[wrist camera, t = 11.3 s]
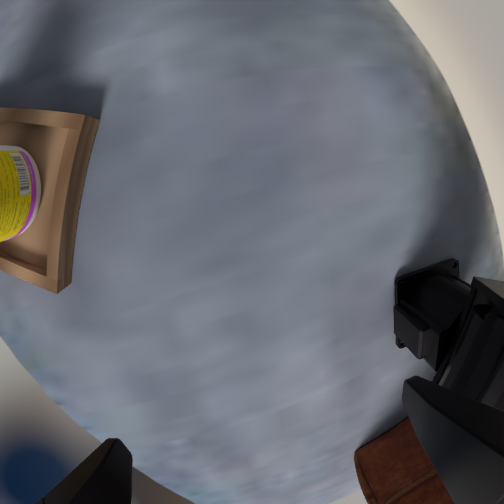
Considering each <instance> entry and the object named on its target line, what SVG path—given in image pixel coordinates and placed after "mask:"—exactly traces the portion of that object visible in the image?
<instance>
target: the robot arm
mask: <svg viewBox="0 0 504 504" xmlns="http://www.w3.org/2000/svg"><path fill="white" fill-rule="evenodd" d="M453 264H454V265H453ZM402 281H403V283H402V285H400V283H401V282H402ZM394 333H395V335H396V345H397V346H398V347H399V348H404V347H407V348H408V349H409V350H410V351H411V352H412V353H413V354H414V355H415V357H416V358H418V359H422V358H424V359H425V360H426V362H427V363H428V364H429V365H430V366H431V367H432V368H433V369H434V370H435V371H436V374H435V376H434V378H433V380H432V382H431V381H428V380H426V379H424V378H421V377H419V376H413V377H411V378H408V379H406V380H405V381H404V384H403V394H402V402H403V405H404V407H405V410H406V412H407V414H408V416H409V419H410V421H411V423H412V426H413V428H414V430H415V433H416V435H417V437H418V439H419V441H420V443H421V445H422V447H423V448H424V450H425V452H426V454H427V455H428V457H429V459H430V460H431V462H432V464H433V466H434V467H435V469H436V471H437V473H438V474H439V476H440V478H441V480H442V481H443V483H444V485H445V487H446V488H447V490H448V492H449V494H450V496H451V497H452V499H453V501H454V503H455V504H504V282H501V281H496V280H491V279H485V278H480V277H475V276H474V277H473V280H472V283H471V285H470V284H469V283H467V282H465V281H463V280H461V279H460V278H459V262H458V260H456V259H454V258H452V259H449V260H446V261H443V262H440V263H438V264H435V265H432V266H429V267H426V268H423V269H421V270H418V271H415V272H412V273H409V274H406V275H403V276H400V277H398V278H397V279H396V280H395V306H394ZM401 342H402V343H401ZM131 498H132V455H131V453H130V451H129V450H128V449H127V447H126V446H125V445H124V444H123V442H122V441H121V440H120V439H118V438H108V439H106V440H105V441H104V442H103V443H102V444H101V445H100V446H99V447H98V448H97V449H96V450H95V451H93V452H92V453H91V454H90V455H89V456H88V457H87V458H86V459H85V460H84V461H83V462H82V463H80V464H79V466H77V467H76V468H75V469H74V470H73V471H72V472H71V473H69V474H68V475H67V476H66V477H65V478H64V479H63V480H62V481H61V482H59V483H58V484H57V485H56V486H55V487H54V488H53V489H51V490H50V491H49V492H48V493H47V494H46V495H45V496H44V497H42V498H41V499H40V500H39V501H38V502H36V503H35V504H131Z"/></svg>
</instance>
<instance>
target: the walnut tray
mask: <svg viewBox="0 0 504 504" xmlns="http://www.w3.org/2000/svg"><path fill="white" fill-rule="evenodd" d="M99 121H100V120H99V119H96V118H93V117H90V116H87V115H83V114H75V113H67V112H58V111H48V110H37V109H23V108H5V107H0V145H7V146H18V147H21V148H23V149H24V150H26V151H27V152H28V153H29V154H30V155H31V156H32V158H33V159H34V161H35V163H36V165H37V168H38V171H39V174H40V180H41V197H40V203H39V208H38V212H37V214H36V217H35V219H34V220H33V222H32V224H31V225H30V226H29V227H28V229H26V230H25V231H24V232H23V233H21V234H19V235H17V236H15V237H13V238H10V239H8V240H5V241H3V242H0V269H1V270H3V271H5V272H7V273H9V274H11V275H14V276H16V277H18V278H20V279H22V280H25V281H27V282H29V283H32V284H34V285H36V286H39V287H41V288H43V289H46V290H48V291H51V292H53V293H56V294H58V293H59V292H60V291H61V290H63V289H64V288H65V287H67V286H68V285H69V284H71V276H72V263H73V252H74V243H75V235H76V227H77V220H78V214H79V208H80V202H81V196H82V191H83V186H84V181H85V176H86V171H87V167H88V163H89V158H90V154H91V150H92V146H93V142H94V139H95V135H96V131H97V128H98V125H99Z"/></svg>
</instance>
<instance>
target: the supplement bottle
mask: <svg viewBox="0 0 504 504" xmlns="http://www.w3.org/2000/svg"><path fill="white" fill-rule="evenodd" d="M40 197H41V180H40V174H39V171H38V168H37V165H36V163H35V161H34V159H33V158H32V156H31V155H30V154H29V153H28V152H27V151H26V150H24V149H23V148H21V147H18V146H7V145H0V242H3V241H5V240H8V239H10V238H13V237H15V236H17V235H19V234H21V233H23V232H24V231H25V230H26V229H28V227H29V226H30V225H31V224H32V222H33V220H34V219H35V217H36V214H37V212H38V208H39V203H40Z"/></svg>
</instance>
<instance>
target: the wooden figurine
mask: <svg viewBox="0 0 504 504" xmlns="http://www.w3.org/2000/svg"><path fill="white" fill-rule="evenodd" d="M354 462H355V466H356V473H357V476H358V480H359V483H360V486H361V489H362V492H363V494H364V496H365V499H366V501H367V503H368V504H455V503H454V501H453V499H452V497H451V496H450V494H449V492H448V490H447V488H446V487H445V485H444V483H443V481H442V480H441V478H440V476H439V474H438V473H437V471H436V469H435V467H434V466H433V464H432V462H431V460H430V459H429V457H428V455H427V454H426V452H425V450H424V448H423V447H422V445H421V443H420V441H419V439H418V437H417V435H416V433H415V430H414V428H413V426H412V423H411V421H410V419H409V417H408V418H407V419H405V420H404V421H403V422H401V423H399V424H398V425H397V426H396V427H394V428H393V429H391V430H390V431H388V432H387V433H385V434H384V435H382V436H380V437H379V438H377V439H375V440H374V441H372V442H370V443H369V444H367V445H365V446H364V447H362V448H360V449H359V450H358V451H357V452H356V453H355V455H354Z"/></svg>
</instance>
